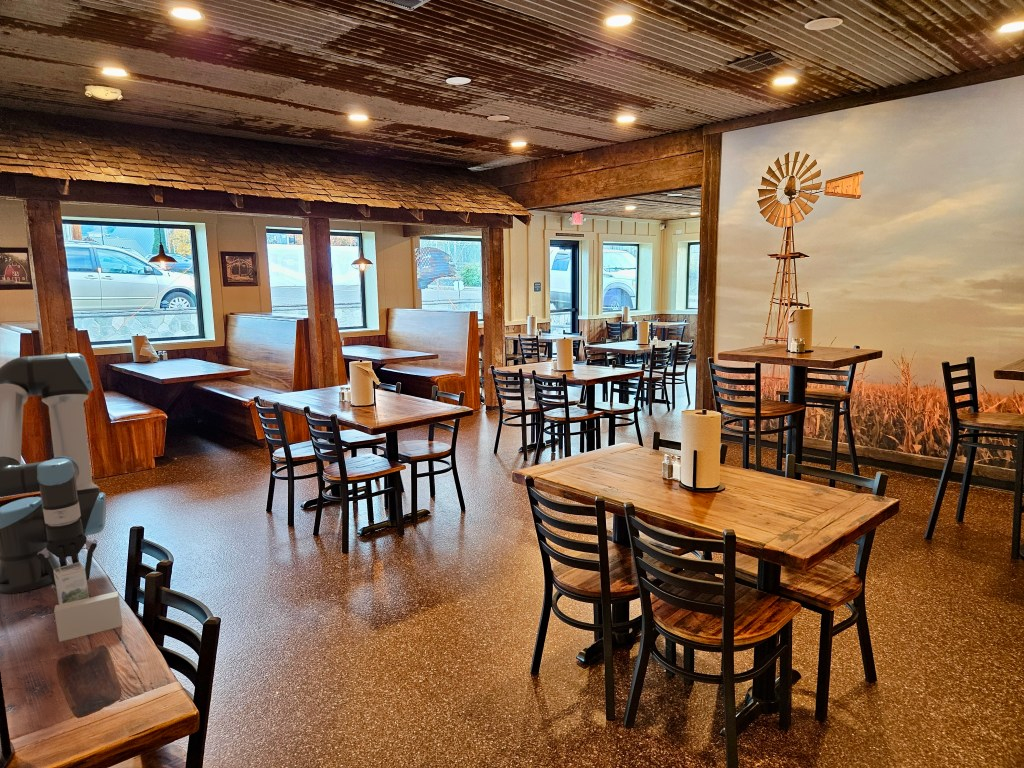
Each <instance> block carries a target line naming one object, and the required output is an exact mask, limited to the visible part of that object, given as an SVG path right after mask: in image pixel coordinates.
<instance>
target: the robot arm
mask: <svg viewBox="0 0 1024 768" xmlns="http://www.w3.org/2000/svg"><path fill="white" fill-rule="evenodd" d="M93 390H94V384H93V380H92V377H91V373H90V369H89V366H88V362H87V359H86V357H85V356H84V355H83V354H82V353H79V352H78V353H77V352H76V353H75V352H73V353H67V352H63V353H55V354H42V355H27V356H26V355H25V356H19V357H16V358H14V359H11V360H9V361H7V362H6V363H4V364H3V365H1V366H0V498H4V497H12V496H17V495H23V494H33V493H37V492H39V493H40V496H35V497H34V496H31V497H24V498H20V499H17V500H13V501H11V502H9V503H7V504H4V505H2V506H0V593H2V594H18V592H20V593H24V591H26V592H29V591H28V590H30V591H33V590H32V589H34V590H37V589H40V588H43V587H46V586H47V584H48V585H50V584H51V583H53V586H54V587H55V588H56V584H55V578H54V571H53V569H56V568H59V567H63V566H66V565H68V561H67V558H68V557H69V558H71V561H72V562H71V564H74V563H77V562H80V559H79V558H80V557H79V554H80V553H81V551H82V549H83V548H84V547H85V549H86V550H87V554H86V559H85V565H84V569H85V573H86V580H87V581H89V580H90V574H91V568H92V563H93V555H94V551H95V550H96V548H97V546H98V541H97V540H91V539H87V537H88V536H91V535H96V534H97V535H98V534H99V533H102V531H103V530H104V529H105V525H106V518H107V516H106V515H107V495H106V493H105V492H102V491H101V492H100V486H99V485H97V484H95V483H94V482H93V475H92V468H91V458H90V450H89V441H88V433H87V431H88V430H87V423H86V416H85V406H84V403H85V402H86V401H87V400H88V398H89V397H90V396H89V392H92V391H93ZM36 396H40V397H41V402H42V403H44V404H45V405H47V406H48V411H49V421H50V431H51V441H52V442H51V443H52V450H53V458H51V459H49V460H43V461H38V462H30V463H23V464H21V463H22V444H23V443H22V439H23V423H24V420H23V419H24V405H25V404H26V403H27V402H28V398H29V397H36ZM56 558H58V560H57V559H56ZM58 561H59V562H58ZM39 587H40V588H39ZM36 588H37V589H36Z"/></svg>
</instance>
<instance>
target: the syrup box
mask: <svg viewBox="0 0 1024 768" xmlns="http://www.w3.org/2000/svg"><path fill="white" fill-rule="evenodd" d="M53 571H54V578H55V584H56V587H55V589H56V590H55V591H56V596H57V602H58V604H57V605H59V604H64V603H68V602H73V601H77V600H82V599H86V598H90V595H89V588H88V580H86V573H85V567H84V566H83V565H82V564H81V562H80V561H79V562H77V563H74V564H73V563H71V564H67V565H66V566H63V567H59V568H56V569H53Z"/></svg>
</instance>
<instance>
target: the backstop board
mask: <svg viewBox="0 0 1024 768" xmlns="http://www.w3.org/2000/svg"><path fill="white" fill-rule="evenodd" d="M119 595H120V594H119V591H118V590H117V591H114V592H113V591H112V592H108V593H105V594H99V595H96V596H91V597H90V596H89V598H86V599H82V600H77V601H73V602H68V603H64V604H56V605H55V606H54V609H53V610H54V618H55V623H56V630H57V631H56V632H57V637H58V642H59V643H60V642H65V641H69V640H73V639H76V638H81V637H85V636H89V635H92V634H96V633H101V632H105V631H109V630H113V629H117V628H121V627H123V617H122V610H121V603H120V596H119ZM120 626H121V627H120ZM116 627H117V628H116Z"/></svg>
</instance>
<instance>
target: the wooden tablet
mask: <svg viewBox="0 0 1024 768" xmlns="http://www.w3.org/2000/svg"><path fill="white" fill-rule="evenodd" d="M56 663H57V664H56V668H57V674H58V678H59V682H60V686H61V687H62V690H63V692H64V694H65V698H66V700H67V702H68V703H67V704H68V705H69V708H71V711H72V713H73V714H74V715H75V716H76V717H79V718H80V717H83V716H87V715H89V714H94V713H96V712H99V711H101V710H103V709H104V708H107V707H110V706H111V705H113V704H115V703H116V702H118V701H120V699H121V697H122V686H121V683H120V680H119V677H118V673H117V671H116V668H115V664H114V661H113V658H112V656H111V653H110V650H109V648H108V647H107V646H106V645H104V644H103V645H102V644H101V645H99V646H96V647H94V648H92V649H91V650H90V651H89V652H87V653H73V654H70V655H66V656H64V657H61V658H59V659H57V661H56Z"/></svg>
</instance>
